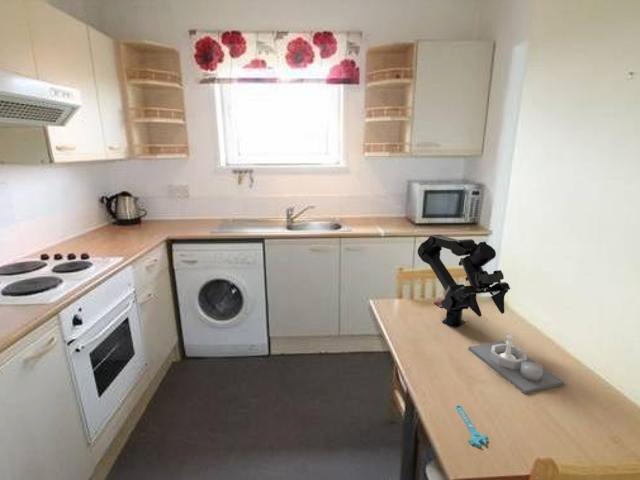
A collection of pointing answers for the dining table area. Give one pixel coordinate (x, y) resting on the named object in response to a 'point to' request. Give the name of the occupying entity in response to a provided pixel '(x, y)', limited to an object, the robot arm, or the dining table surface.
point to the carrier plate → (516, 367)
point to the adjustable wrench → (472, 430)
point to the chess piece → (508, 347)
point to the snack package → (439, 303)
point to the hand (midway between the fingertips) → (491, 314)
